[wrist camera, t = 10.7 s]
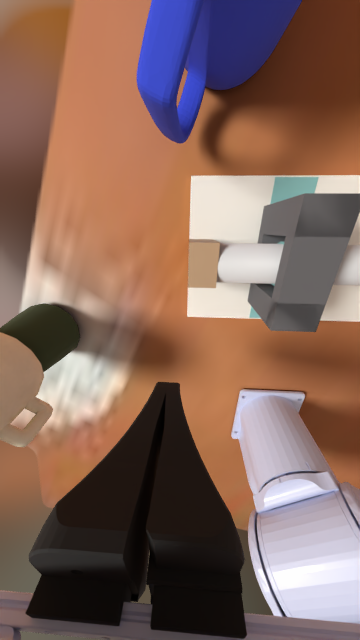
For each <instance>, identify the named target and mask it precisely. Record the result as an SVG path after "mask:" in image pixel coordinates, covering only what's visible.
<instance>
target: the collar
mask: <svg viewBox="0 0 360 640" xmlns="http://www.w3.org/2000/svg"><path fill="white" fill-rule="evenodd" d="M359 213H360V193H305V194H301V195H298V196H295V197H292V198H289V199H285V200H282V201H279V202H276V203H273V204H270V205H266V206H264V209H263V215H262V220H261V226H260V232H259V238H258V243H257V244H277V243H279V242H284V246H283V251H282V255H281V259H280V264H279V268H278V272H277V277H276V281H275V285H274V286H273V285H272V284H265V283H251V284H250V289H249V295H248V302H249V304H250V305H251V306H252V307H253V309H254V310H255V311H256V312H257V314H258V315H259V316H260V317H261V319H262V320H263V321H264V323H265V324H266V325H267V326H268V328H269V329H270V330H272V331H303V332H316V330H317V327H318V324H319V322H320V319H321V316H322V313H323V311H324V308H325V305H326V303H327V300H328V297H329V294H330V292H331V289H332V286H333V284H334V281H335V278H336V275H337V273H338V270H339V267H340V264H341V262H342V259H343V256H344V254H345V251H346V248H347V245H348V243H349V240H350V237H351V235H352V232H353V229H354V226H355V224H356V221H357V218H358V216H359Z"/></svg>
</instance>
